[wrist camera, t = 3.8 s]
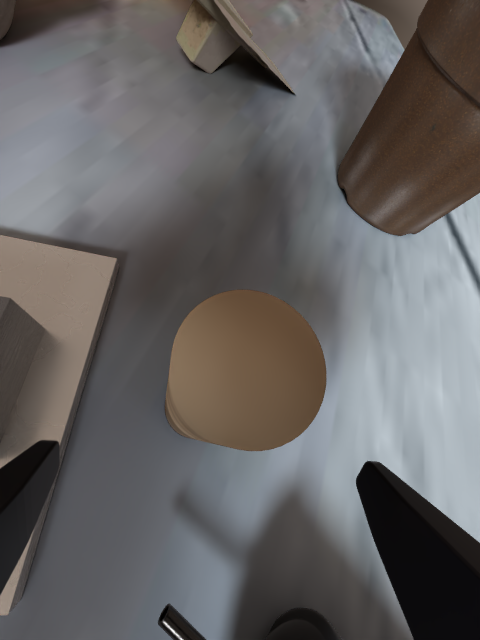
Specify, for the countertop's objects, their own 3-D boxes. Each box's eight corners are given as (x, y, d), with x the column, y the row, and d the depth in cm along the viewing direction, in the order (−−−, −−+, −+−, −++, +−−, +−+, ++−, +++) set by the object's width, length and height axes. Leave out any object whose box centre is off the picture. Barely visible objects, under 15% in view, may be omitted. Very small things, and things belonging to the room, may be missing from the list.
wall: (179, 52, 38) (92, -62, 24) (224, -9, 35) (153, -182, 21) (245, 148, 38) (196, 88, 24) (297, 96, 35) (274, -8, 21)
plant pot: (442, 278, 29) (726, 123, 14) (307, 214, 27) (476, -37, 12) (438, 182, 36) (624, 15, 21) (331, 127, 34) (455, -97, 20)
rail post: (196, 453, 16) (263, 494, 6) (150, 406, 17) (131, 359, 6) (239, 403, 18) (352, 362, 7) (197, 361, 18) (247, 264, 8)
